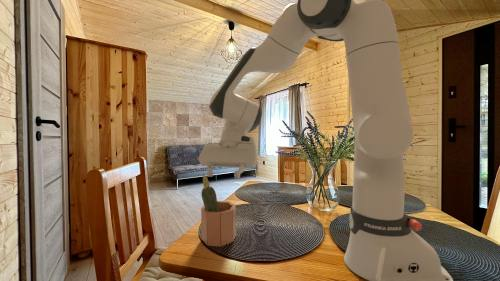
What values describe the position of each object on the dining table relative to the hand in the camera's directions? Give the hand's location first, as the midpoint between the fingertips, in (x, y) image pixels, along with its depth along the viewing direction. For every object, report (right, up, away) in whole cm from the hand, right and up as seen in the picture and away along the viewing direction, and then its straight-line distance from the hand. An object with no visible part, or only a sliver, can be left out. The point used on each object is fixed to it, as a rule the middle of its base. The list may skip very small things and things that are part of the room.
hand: (222, 176), depth 75 cm
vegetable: (0, -18, -2) cm, 18 cm away
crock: (-1, -19, -2) cm, 19 cm away
